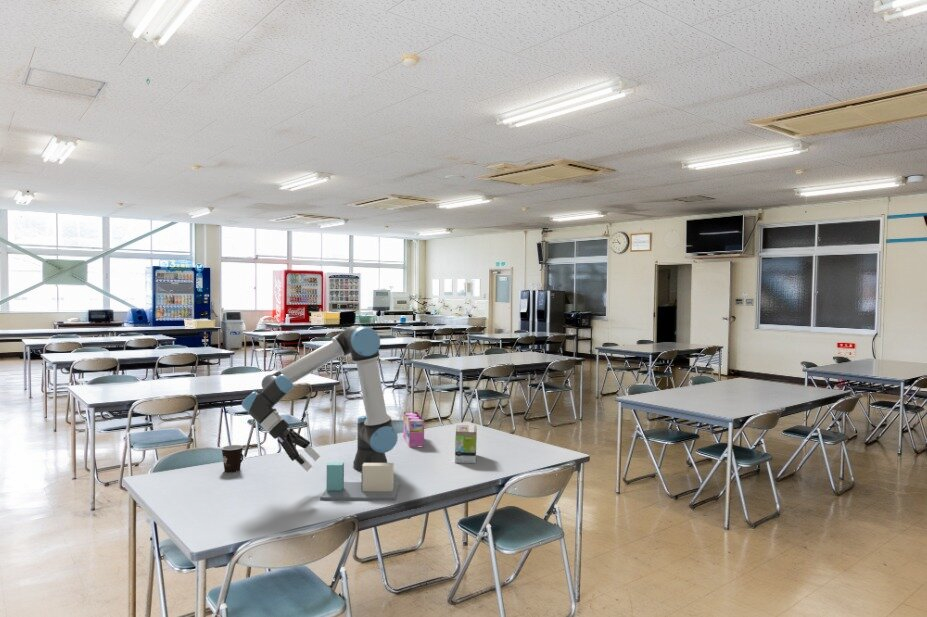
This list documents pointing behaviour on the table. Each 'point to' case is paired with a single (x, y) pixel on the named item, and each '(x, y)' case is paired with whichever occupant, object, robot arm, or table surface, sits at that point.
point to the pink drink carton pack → (413, 429)
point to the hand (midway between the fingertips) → (314, 463)
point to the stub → (335, 476)
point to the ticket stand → (368, 485)
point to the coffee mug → (232, 457)
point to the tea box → (465, 444)
